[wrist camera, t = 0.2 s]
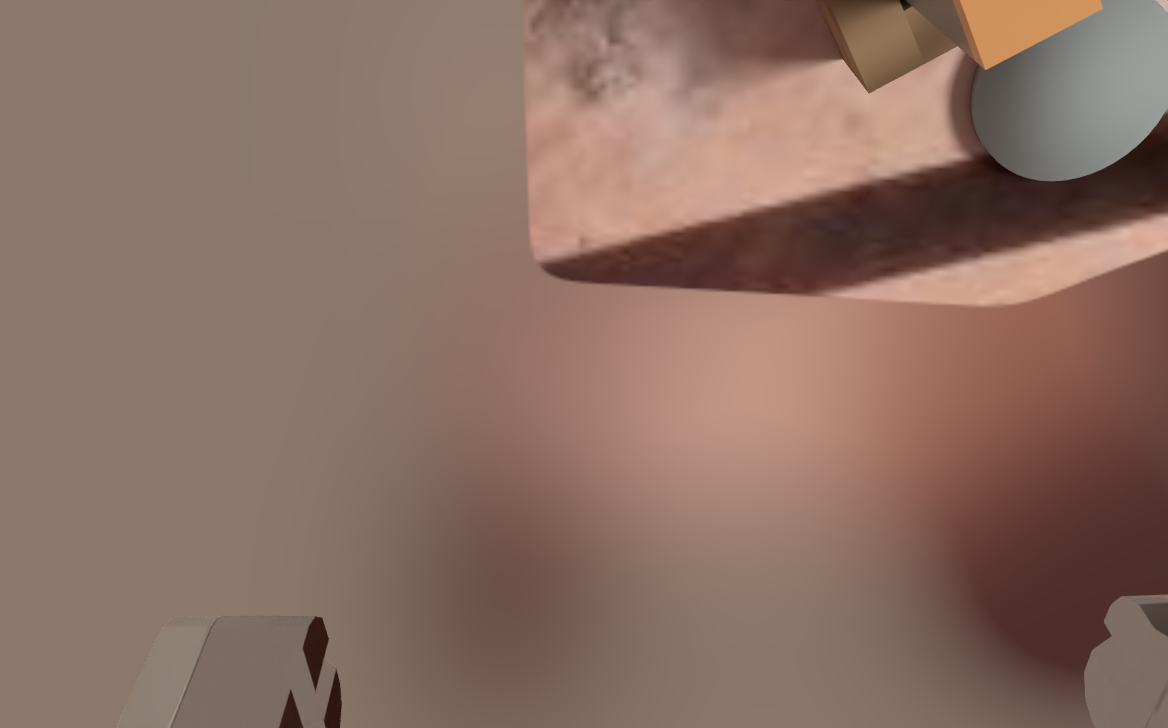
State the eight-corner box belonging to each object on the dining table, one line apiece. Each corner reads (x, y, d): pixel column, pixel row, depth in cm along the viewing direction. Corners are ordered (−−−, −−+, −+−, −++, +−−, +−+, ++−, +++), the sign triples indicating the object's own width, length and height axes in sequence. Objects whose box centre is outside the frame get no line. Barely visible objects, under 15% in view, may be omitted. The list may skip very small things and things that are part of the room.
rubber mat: (993, -18, 52) (1000, -14, 51) (1200, -21, 52) (1210, -17, 51) (953, 175, 58) (958, 182, 57) (1138, 173, 58) (1145, 180, 57)
